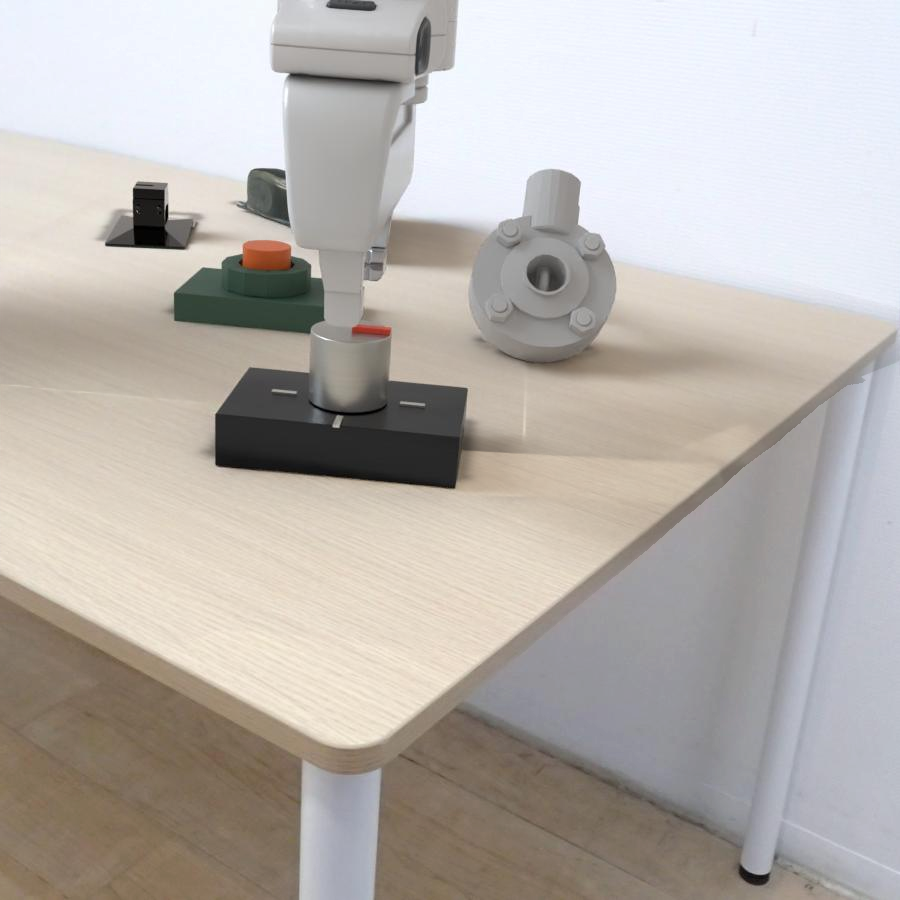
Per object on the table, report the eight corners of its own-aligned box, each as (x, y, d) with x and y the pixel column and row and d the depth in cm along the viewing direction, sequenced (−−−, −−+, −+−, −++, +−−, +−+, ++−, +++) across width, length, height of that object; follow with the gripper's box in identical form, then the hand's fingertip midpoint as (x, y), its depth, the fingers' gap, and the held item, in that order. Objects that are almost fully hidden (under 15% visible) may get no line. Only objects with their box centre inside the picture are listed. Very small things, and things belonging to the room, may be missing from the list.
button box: (173, 321, 86) (173, 268, 85) (202, 293, 94) (202, 244, 92) (335, 336, 86) (337, 283, 85) (351, 307, 93) (353, 258, 92)
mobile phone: (347, 188, 115) (255, 159, 124) (324, 190, 113) (231, 161, 122) (345, 238, 117) (253, 206, 126) (321, 241, 115) (230, 208, 124)
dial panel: (213, 468, 63) (213, 413, 62) (249, 412, 71) (250, 362, 70) (455, 491, 62) (459, 436, 61) (464, 432, 70) (468, 383, 69)
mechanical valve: (464, 328, 80) (491, 140, 85) (445, 415, 97) (469, 254, 102) (612, 352, 80) (631, 163, 85) (567, 434, 97) (585, 273, 102)
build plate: (121, 219, 117) (120, 172, 115) (196, 223, 118) (196, 176, 116) (104, 246, 106) (102, 194, 104) (187, 250, 107) (187, 199, 105)
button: (237, 271, 87) (237, 248, 86) (248, 260, 90) (248, 238, 90) (285, 276, 87) (286, 252, 86) (294, 264, 90) (295, 242, 90)
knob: (301, 408, 63) (304, 332, 62) (315, 382, 67) (318, 310, 66) (382, 416, 63) (387, 340, 62) (391, 389, 67) (396, 317, 66)
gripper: (337, 15, 68) (330, 251, 73) (260, 31, 49) (258, 349, 54) (446, 23, 67) (431, 260, 73) (411, 42, 49) (394, 361, 54)
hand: (357, 299), depth 63 cm, fingers open, 8 cm apart
